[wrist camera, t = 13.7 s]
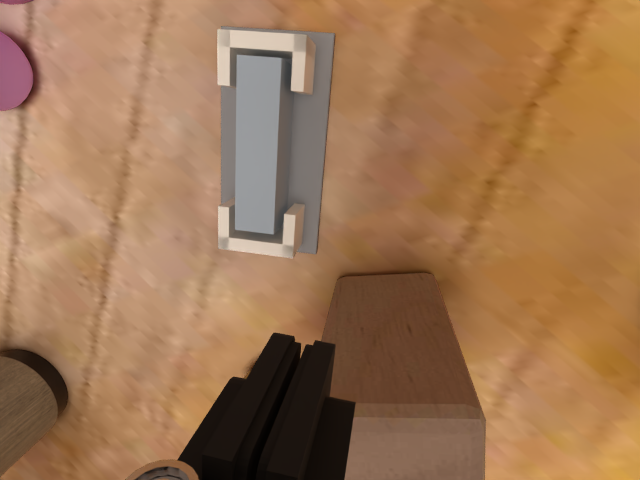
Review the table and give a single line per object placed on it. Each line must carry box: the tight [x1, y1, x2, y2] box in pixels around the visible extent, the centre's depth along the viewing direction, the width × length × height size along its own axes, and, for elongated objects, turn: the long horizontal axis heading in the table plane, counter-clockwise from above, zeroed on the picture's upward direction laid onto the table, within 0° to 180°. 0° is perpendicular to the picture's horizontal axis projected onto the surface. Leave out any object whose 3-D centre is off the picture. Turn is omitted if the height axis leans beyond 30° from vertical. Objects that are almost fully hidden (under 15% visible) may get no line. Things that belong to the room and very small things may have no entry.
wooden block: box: [321, 273, 486, 480], centre depth 31 cm, size 10×10×20 cm
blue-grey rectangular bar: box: [235, 55, 294, 234], centre depth 33 cm, size 14×4×5 cm, turn 175°
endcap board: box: [217, 26, 335, 258], centre depth 34 cm, size 10×20×5 cm, turn 176°
